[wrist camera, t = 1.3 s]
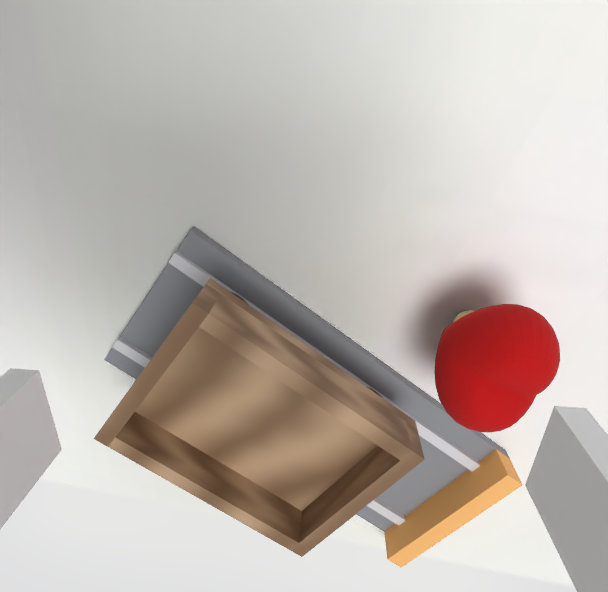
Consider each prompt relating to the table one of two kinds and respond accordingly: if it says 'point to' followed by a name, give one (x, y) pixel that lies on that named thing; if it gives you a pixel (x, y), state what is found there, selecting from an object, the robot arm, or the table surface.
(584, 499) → the robot arm
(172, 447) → the tray
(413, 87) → the table surface
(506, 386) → the light bulb
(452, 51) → the table surface
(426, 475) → the track
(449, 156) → the table surface
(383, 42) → the table surface
